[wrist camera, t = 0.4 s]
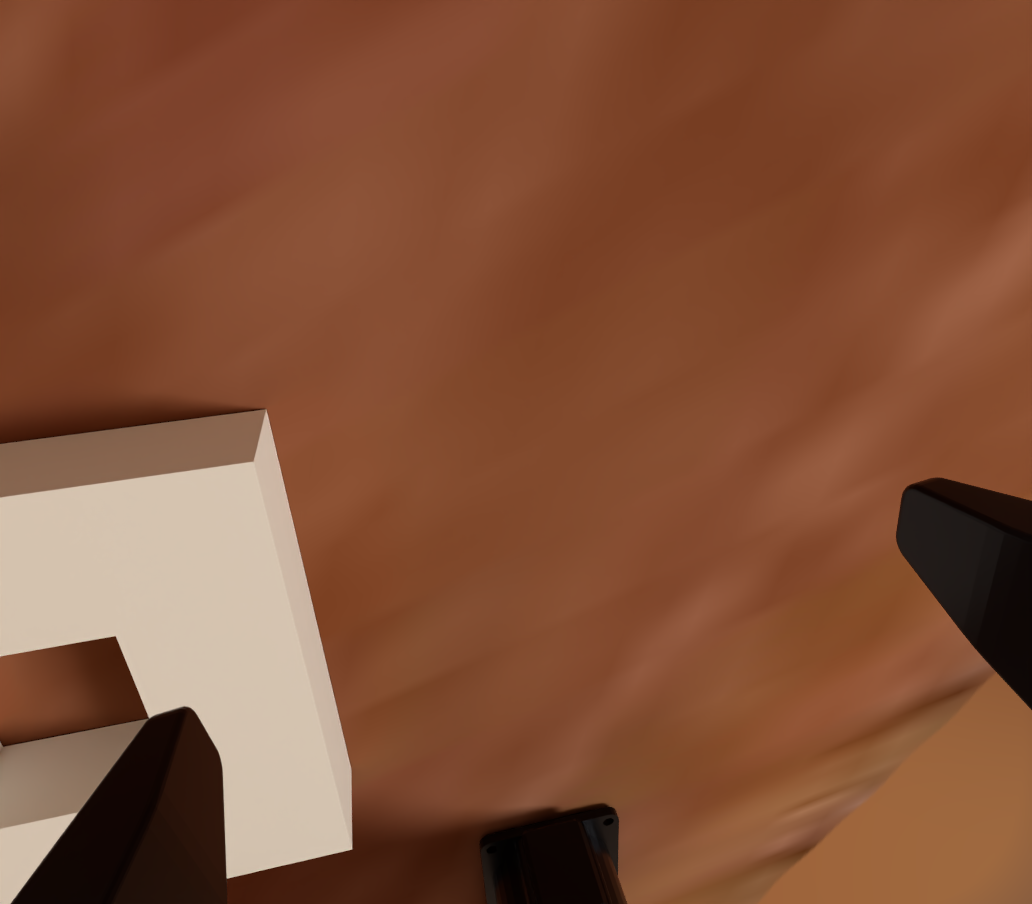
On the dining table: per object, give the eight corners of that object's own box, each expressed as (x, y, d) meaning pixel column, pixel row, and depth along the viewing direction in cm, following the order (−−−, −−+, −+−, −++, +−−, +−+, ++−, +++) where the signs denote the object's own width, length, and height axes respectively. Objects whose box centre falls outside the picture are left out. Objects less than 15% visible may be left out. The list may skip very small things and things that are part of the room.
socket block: (351, 769, 29) (352, 849, 26) (-88, 863, 26) (-145, 964, 23) (266, 409, 22) (253, 461, 19) (-355, 490, 19) (-489, 566, 16)
